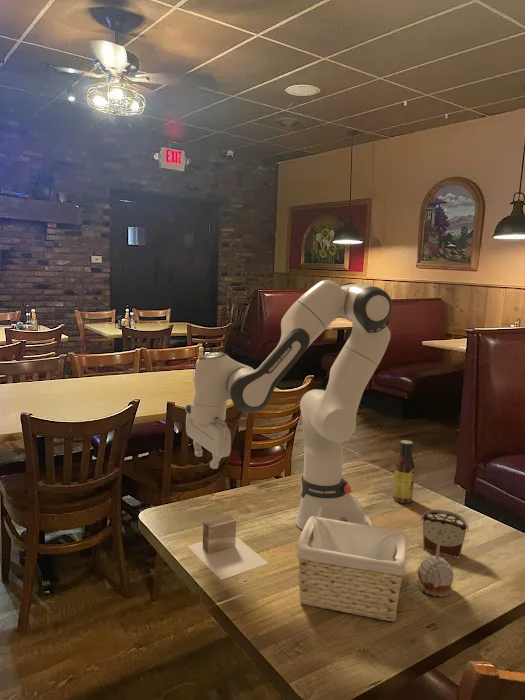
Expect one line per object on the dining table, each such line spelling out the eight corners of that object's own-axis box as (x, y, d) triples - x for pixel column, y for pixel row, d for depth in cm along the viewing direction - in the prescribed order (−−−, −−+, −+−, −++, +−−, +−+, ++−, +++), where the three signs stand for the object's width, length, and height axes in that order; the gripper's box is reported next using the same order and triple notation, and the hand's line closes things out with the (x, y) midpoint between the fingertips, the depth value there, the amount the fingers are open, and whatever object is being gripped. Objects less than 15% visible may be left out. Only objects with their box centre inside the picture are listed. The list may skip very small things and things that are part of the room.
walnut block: (202, 548, 145) (203, 522, 143) (228, 540, 149) (229, 514, 148) (209, 554, 142) (209, 527, 141) (235, 546, 146) (236, 520, 145)
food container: (467, 549, 151) (471, 515, 149) (465, 559, 145) (469, 524, 144) (421, 537, 156) (424, 505, 154) (417, 547, 150) (421, 513, 149)
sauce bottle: (414, 504, 177) (419, 446, 174) (394, 503, 177) (400, 445, 174) (409, 496, 183) (414, 439, 180) (390, 495, 183) (395, 438, 180)
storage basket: (291, 605, 123) (294, 545, 121) (305, 567, 139) (309, 513, 136) (400, 629, 117) (406, 565, 114) (402, 586, 132) (408, 530, 130)
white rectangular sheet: (186, 547, 146) (186, 545, 146) (231, 533, 154) (231, 532, 153) (221, 581, 131) (221, 579, 131) (268, 564, 139) (268, 563, 139)
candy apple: (438, 577, 137) (444, 521, 134) (457, 596, 129) (464, 537, 127) (411, 581, 135) (416, 524, 132) (428, 600, 127) (434, 540, 125)
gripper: (238, 422, 139) (234, 474, 142) (203, 402, 156) (200, 448, 159) (216, 425, 136) (213, 477, 138) (182, 403, 153) (180, 450, 155)
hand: (206, 461), depth 149 cm, fingers open, 8 cm apart
